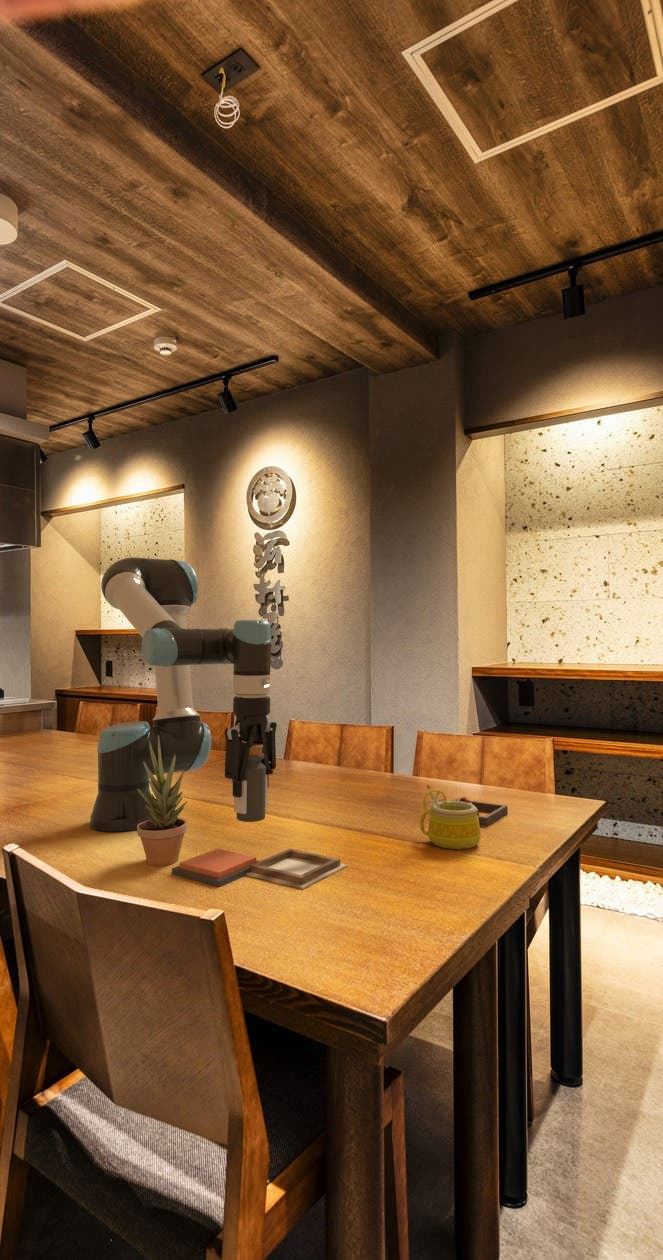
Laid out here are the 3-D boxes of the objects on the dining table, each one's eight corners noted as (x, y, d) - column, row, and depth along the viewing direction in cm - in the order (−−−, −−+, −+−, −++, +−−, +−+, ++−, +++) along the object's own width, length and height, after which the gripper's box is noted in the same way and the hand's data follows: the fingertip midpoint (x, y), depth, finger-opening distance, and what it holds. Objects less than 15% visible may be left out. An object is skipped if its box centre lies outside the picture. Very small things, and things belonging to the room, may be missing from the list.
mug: (485, 840, 145) (485, 783, 145) (474, 855, 135) (473, 794, 135) (427, 833, 150) (427, 778, 150) (412, 847, 140) (411, 788, 140)
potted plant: (134, 857, 135) (133, 733, 135) (182, 850, 139) (181, 730, 139) (141, 872, 126) (140, 739, 126) (192, 865, 129) (191, 736, 130)
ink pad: (171, 873, 125) (171, 862, 125) (217, 856, 135) (217, 846, 135) (219, 886, 118) (219, 875, 118) (264, 867, 128) (263, 856, 128)
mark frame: (242, 874, 124) (242, 865, 124) (289, 853, 136) (289, 846, 136) (303, 889, 117) (303, 880, 117) (347, 866, 128) (347, 858, 128)
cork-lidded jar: (260, 823, 135) (261, 748, 135) (232, 821, 136) (233, 746, 136) (268, 815, 140) (269, 742, 140) (241, 813, 142) (242, 741, 142)
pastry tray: (432, 818, 162) (432, 809, 162) (456, 806, 174) (455, 798, 174) (486, 826, 155) (486, 817, 155) (507, 813, 166) (507, 805, 166)
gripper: (234, 700, 128) (233, 823, 128) (294, 693, 144) (293, 802, 144) (205, 698, 132) (204, 816, 133) (267, 690, 148) (266, 796, 148)
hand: (250, 808), depth 138 cm, fingers closed on cork-lidded jar, 6 cm apart
